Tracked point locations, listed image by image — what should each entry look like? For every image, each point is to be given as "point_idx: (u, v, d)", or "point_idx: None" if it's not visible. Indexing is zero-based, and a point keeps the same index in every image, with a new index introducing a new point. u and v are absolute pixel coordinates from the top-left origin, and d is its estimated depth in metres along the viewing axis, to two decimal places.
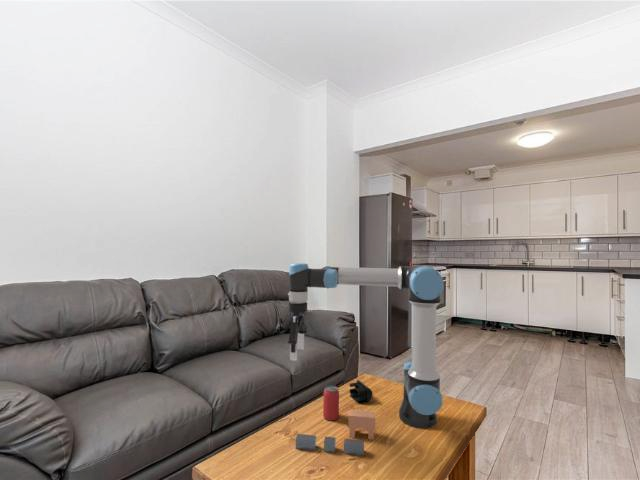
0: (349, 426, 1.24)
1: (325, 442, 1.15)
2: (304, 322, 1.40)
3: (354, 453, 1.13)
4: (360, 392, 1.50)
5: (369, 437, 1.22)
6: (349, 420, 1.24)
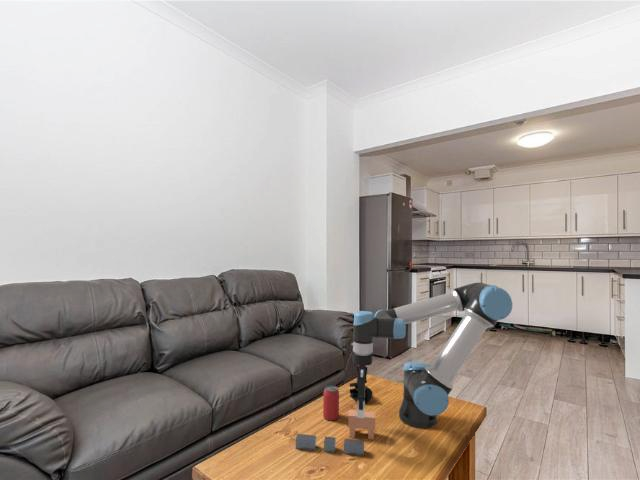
0: (349, 426, 1.24)
1: (325, 442, 1.15)
2: None
3: (354, 453, 1.13)
4: None
5: (369, 437, 1.22)
6: (349, 420, 1.24)
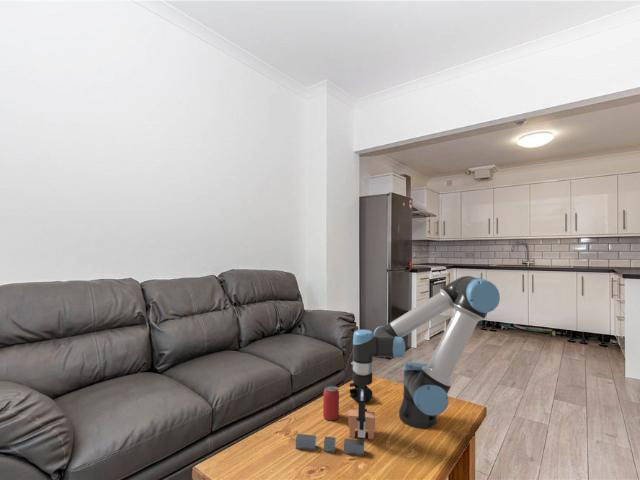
0: (349, 426, 1.24)
1: (325, 442, 1.15)
2: None
3: (354, 453, 1.13)
4: None
5: (369, 437, 1.22)
6: (349, 420, 1.24)
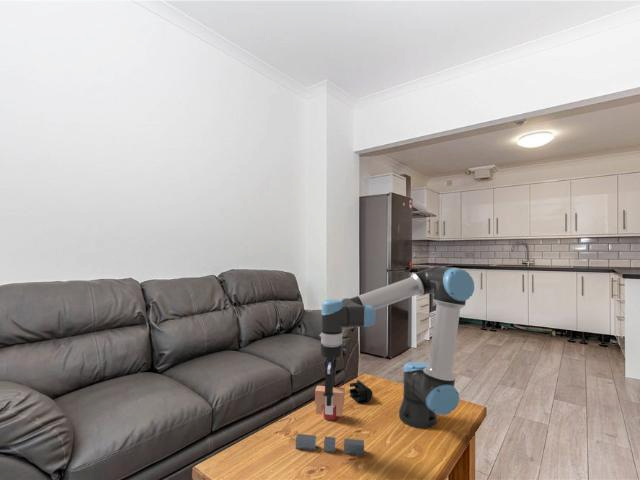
0: (316, 402, 1.15)
1: (325, 442, 1.15)
2: None
3: (354, 453, 1.13)
4: (360, 392, 1.50)
5: (337, 414, 1.13)
6: (316, 396, 1.15)
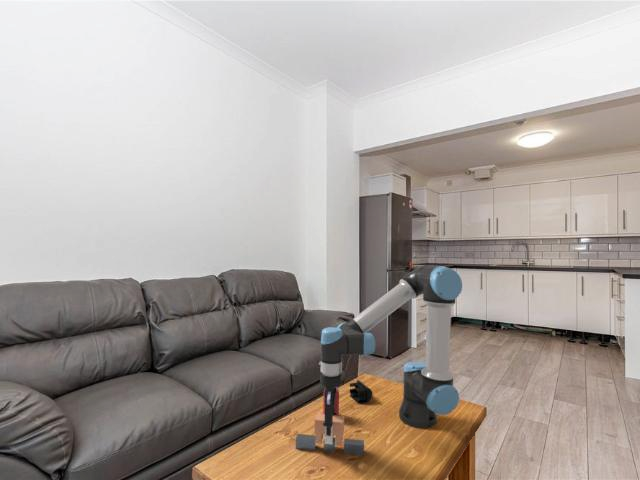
0: (315, 431, 1.14)
1: None
2: None
3: (354, 453, 1.13)
4: (360, 392, 1.50)
5: (336, 443, 1.13)
6: (315, 425, 1.14)
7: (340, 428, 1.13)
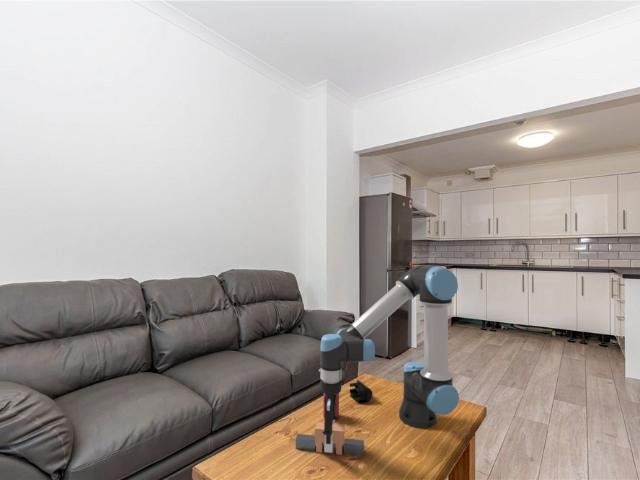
0: (316, 440, 1.14)
1: None
2: None
3: (354, 453, 1.13)
4: (360, 392, 1.50)
5: (337, 452, 1.13)
6: (316, 434, 1.14)
7: (340, 437, 1.13)
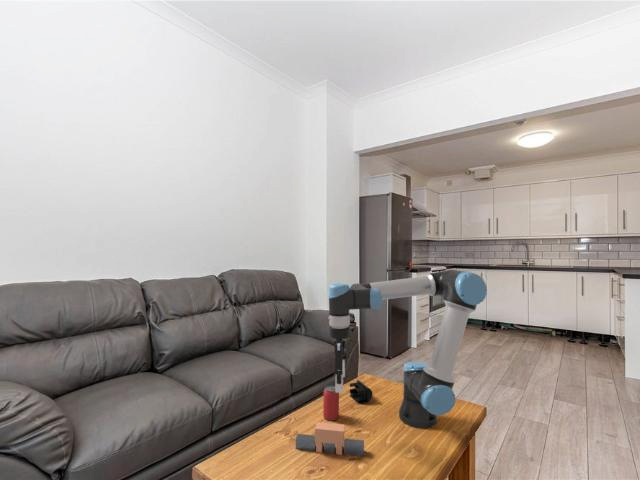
0: (316, 440, 1.14)
1: None
2: None
3: (354, 453, 1.13)
4: (360, 392, 1.50)
5: (337, 452, 1.13)
6: (316, 434, 1.14)
7: (340, 437, 1.13)
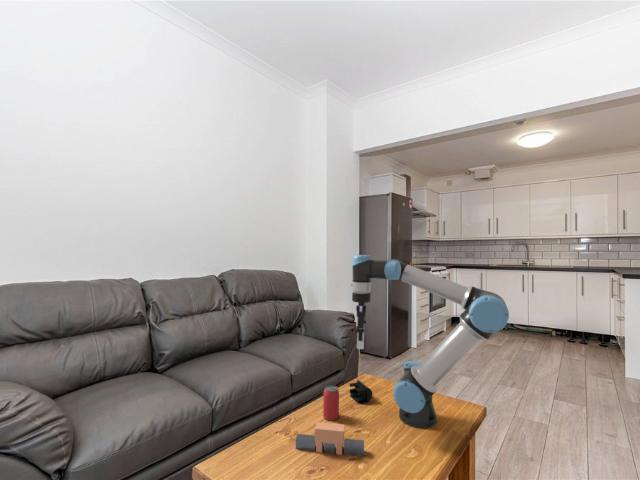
0: (316, 440, 1.14)
1: None
2: None
3: (354, 453, 1.13)
4: (360, 392, 1.50)
5: (337, 452, 1.13)
6: (316, 434, 1.14)
7: (340, 437, 1.13)
